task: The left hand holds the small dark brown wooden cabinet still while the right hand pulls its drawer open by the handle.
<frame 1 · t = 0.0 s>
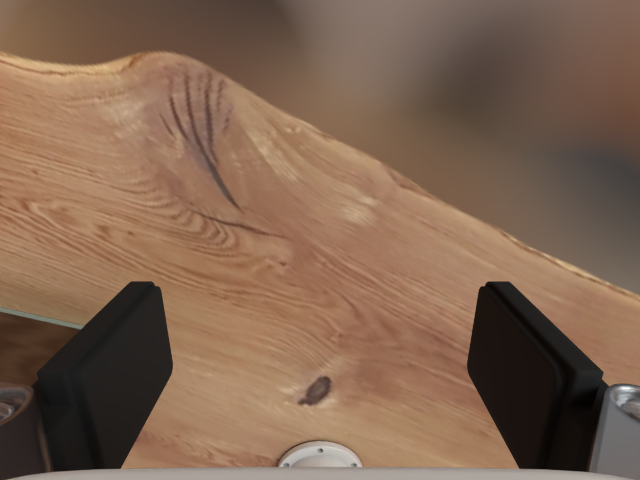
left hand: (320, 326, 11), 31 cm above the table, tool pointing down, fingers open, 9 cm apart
cabinet: (35, 337, 48), on the table
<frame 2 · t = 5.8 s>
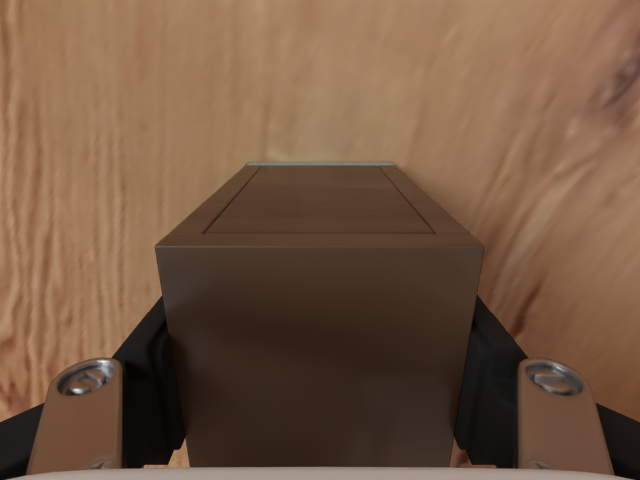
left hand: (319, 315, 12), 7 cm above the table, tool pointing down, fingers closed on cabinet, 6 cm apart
cabinet: (320, 322, 20), on the table, touching left hand
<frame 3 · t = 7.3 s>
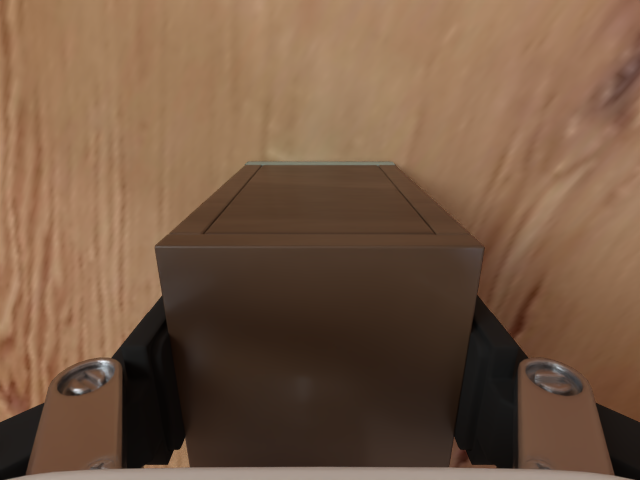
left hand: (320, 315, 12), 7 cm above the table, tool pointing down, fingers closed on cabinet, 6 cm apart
cabinet: (319, 321, 20), on the table, touching left hand
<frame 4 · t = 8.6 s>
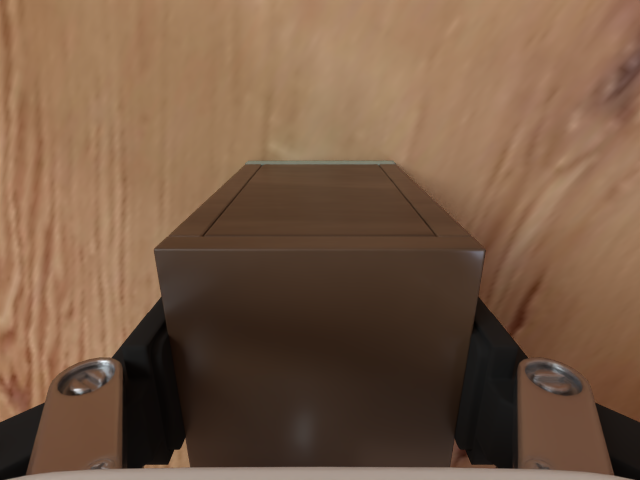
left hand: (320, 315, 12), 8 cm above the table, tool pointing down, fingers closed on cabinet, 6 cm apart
cabinet: (320, 321, 20), on the table, touching left hand
when the left hand's fingers open (7 cm above the table, at t = 10.3 s): cabinet stays where it is, on the table.
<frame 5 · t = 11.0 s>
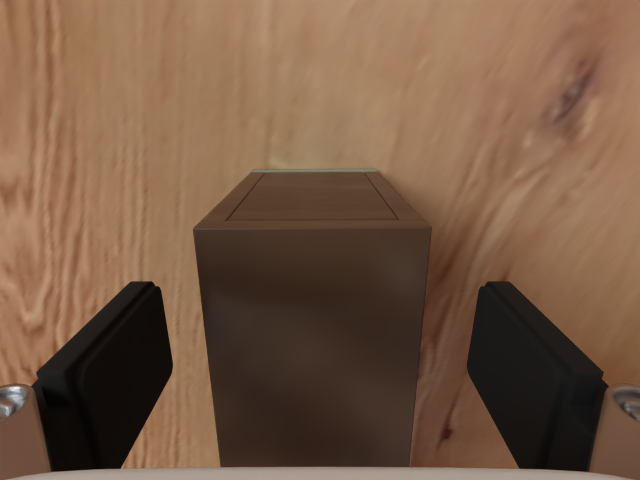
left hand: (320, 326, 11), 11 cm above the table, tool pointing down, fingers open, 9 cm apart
cabinet: (315, 309, 23), on the table
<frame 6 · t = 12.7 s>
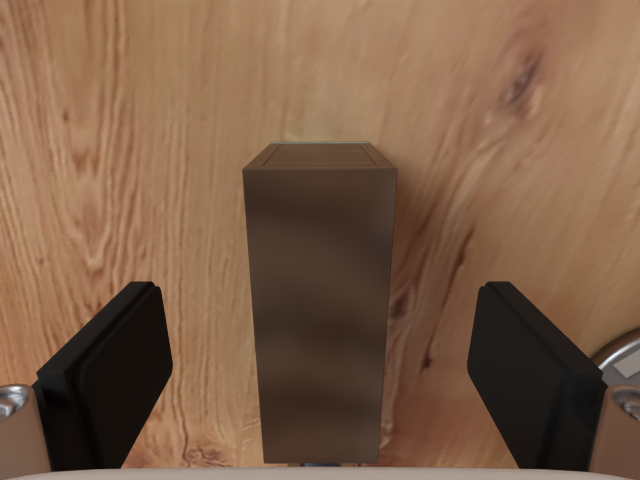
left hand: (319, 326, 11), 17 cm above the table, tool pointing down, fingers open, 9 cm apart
cabinet: (320, 256, 29), on the table
drawer: (320, 441, 29), point 5 cm above the table, slide at 8.0 cm
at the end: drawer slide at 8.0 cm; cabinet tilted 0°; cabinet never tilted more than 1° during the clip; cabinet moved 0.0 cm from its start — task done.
